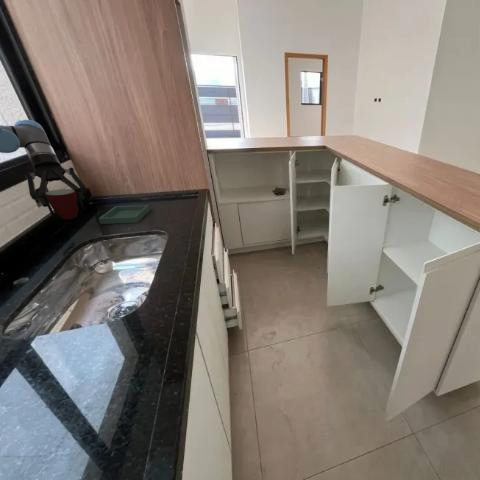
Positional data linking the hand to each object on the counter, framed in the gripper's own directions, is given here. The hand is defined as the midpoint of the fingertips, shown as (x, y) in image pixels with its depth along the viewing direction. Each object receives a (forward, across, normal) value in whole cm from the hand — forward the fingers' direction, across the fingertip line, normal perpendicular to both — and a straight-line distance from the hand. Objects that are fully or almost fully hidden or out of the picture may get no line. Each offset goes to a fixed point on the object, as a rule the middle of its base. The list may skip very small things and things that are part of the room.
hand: (68, 210), depth 98 cm
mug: (0, 0, -5) cm, 5 cm away
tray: (0, -18, -16) cm, 24 cm away
